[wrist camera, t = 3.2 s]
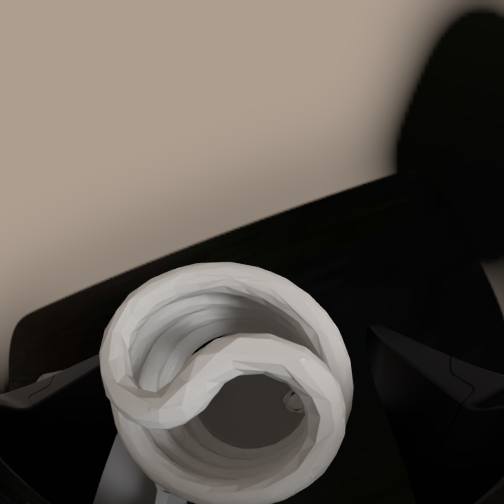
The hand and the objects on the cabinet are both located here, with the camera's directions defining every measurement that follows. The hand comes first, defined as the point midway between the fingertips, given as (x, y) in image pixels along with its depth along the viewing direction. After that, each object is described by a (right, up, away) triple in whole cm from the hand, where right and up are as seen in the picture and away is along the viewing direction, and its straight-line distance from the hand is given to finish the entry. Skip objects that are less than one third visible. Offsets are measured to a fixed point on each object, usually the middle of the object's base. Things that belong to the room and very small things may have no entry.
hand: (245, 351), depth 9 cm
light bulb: (+1, -5, +5) cm, 7 cm away
